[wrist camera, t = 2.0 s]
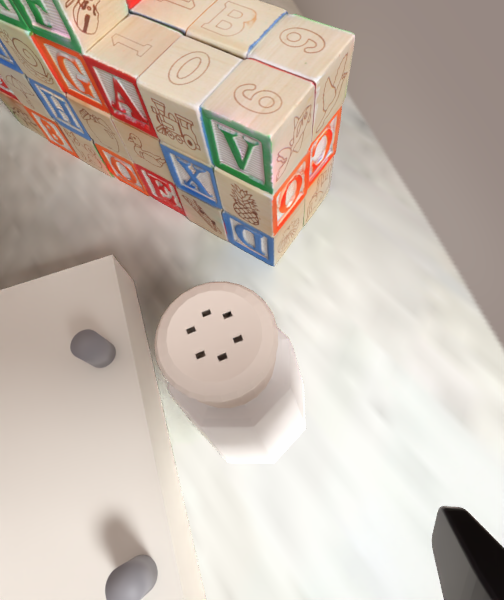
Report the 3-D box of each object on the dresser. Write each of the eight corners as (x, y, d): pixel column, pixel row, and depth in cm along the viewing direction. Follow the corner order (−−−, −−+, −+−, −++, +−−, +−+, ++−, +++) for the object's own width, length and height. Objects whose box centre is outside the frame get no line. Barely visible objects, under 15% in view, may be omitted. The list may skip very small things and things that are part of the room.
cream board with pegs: (260, 838, 13) (249, 1012, 9) (-66, 973, 13) (-244, 1230, 8) (133, 281, 22) (97, 236, 18) (-64, 344, 21) (-150, 314, 17)
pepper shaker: (328, 438, 18) (387, 402, 8) (217, 488, 17) (128, 517, 7) (280, 334, 20) (277, 198, 10) (180, 376, 20) (70, 278, 9)
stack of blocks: (332, 191, 23) (377, -67, 12) (274, 271, 22) (265, 56, 10) (79, 70, 29) (-49, -178, 18) (18, 125, 28) (-167, -113, 16)
